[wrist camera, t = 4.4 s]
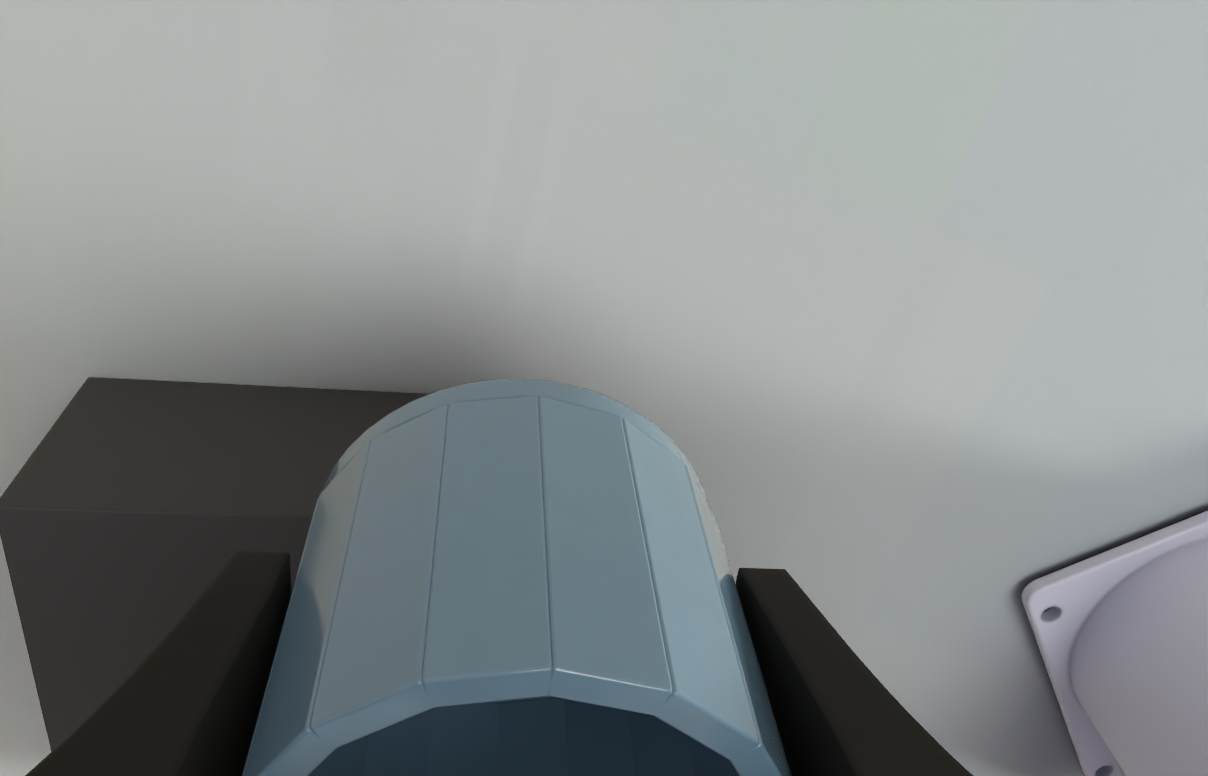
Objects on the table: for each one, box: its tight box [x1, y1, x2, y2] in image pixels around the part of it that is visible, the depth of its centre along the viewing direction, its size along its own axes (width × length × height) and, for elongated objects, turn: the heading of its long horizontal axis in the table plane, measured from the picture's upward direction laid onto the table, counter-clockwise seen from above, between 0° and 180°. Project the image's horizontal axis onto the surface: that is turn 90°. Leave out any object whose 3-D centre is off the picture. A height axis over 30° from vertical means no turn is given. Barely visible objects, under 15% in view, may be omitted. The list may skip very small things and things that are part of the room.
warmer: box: [0, 378, 429, 751], centre depth 23 cm, size 9×12×4 cm
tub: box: [242, 379, 792, 776], centre depth 12 cm, size 6×6×5 cm
